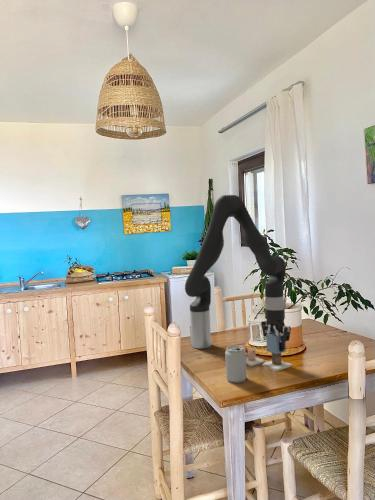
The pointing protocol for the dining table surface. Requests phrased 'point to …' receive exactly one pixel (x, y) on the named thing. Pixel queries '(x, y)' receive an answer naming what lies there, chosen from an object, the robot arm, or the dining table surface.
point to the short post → (252, 358)
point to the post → (276, 363)
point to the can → (235, 364)
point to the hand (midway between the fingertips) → (276, 349)
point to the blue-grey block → (273, 343)
